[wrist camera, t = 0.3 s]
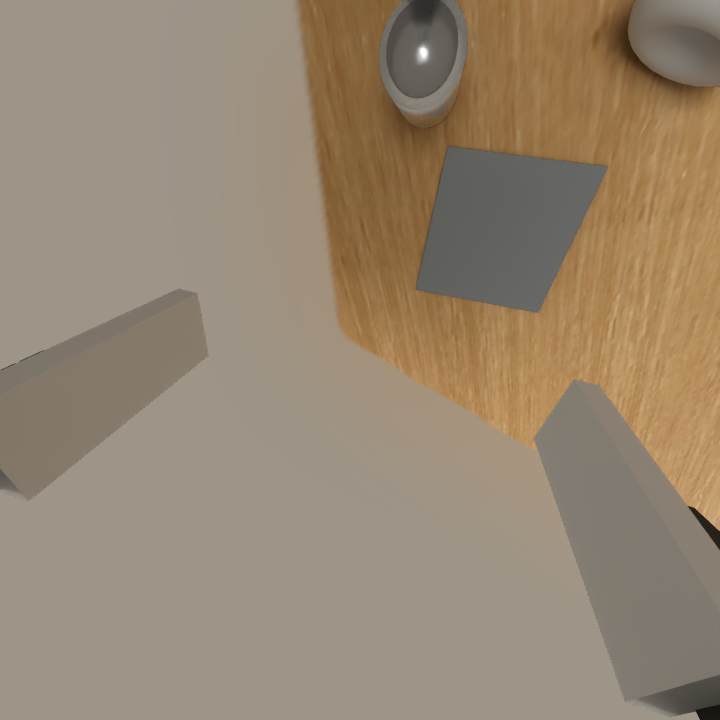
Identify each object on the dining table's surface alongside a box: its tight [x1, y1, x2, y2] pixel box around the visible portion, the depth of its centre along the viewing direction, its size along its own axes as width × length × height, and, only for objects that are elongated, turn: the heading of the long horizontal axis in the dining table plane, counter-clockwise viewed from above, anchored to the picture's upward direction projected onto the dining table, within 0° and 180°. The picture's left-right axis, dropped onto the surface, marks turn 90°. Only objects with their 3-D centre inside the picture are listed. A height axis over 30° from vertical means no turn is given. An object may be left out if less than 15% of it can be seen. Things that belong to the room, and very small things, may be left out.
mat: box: [416, 147, 608, 313], centre depth 33 cm, size 15×15×1 cm
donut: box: [628, 0, 720, 87], centre depth 20 cm, size 10×4×10 cm, turn 63°
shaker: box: [379, 0, 468, 128], centre depth 24 cm, size 6×6×12 cm
